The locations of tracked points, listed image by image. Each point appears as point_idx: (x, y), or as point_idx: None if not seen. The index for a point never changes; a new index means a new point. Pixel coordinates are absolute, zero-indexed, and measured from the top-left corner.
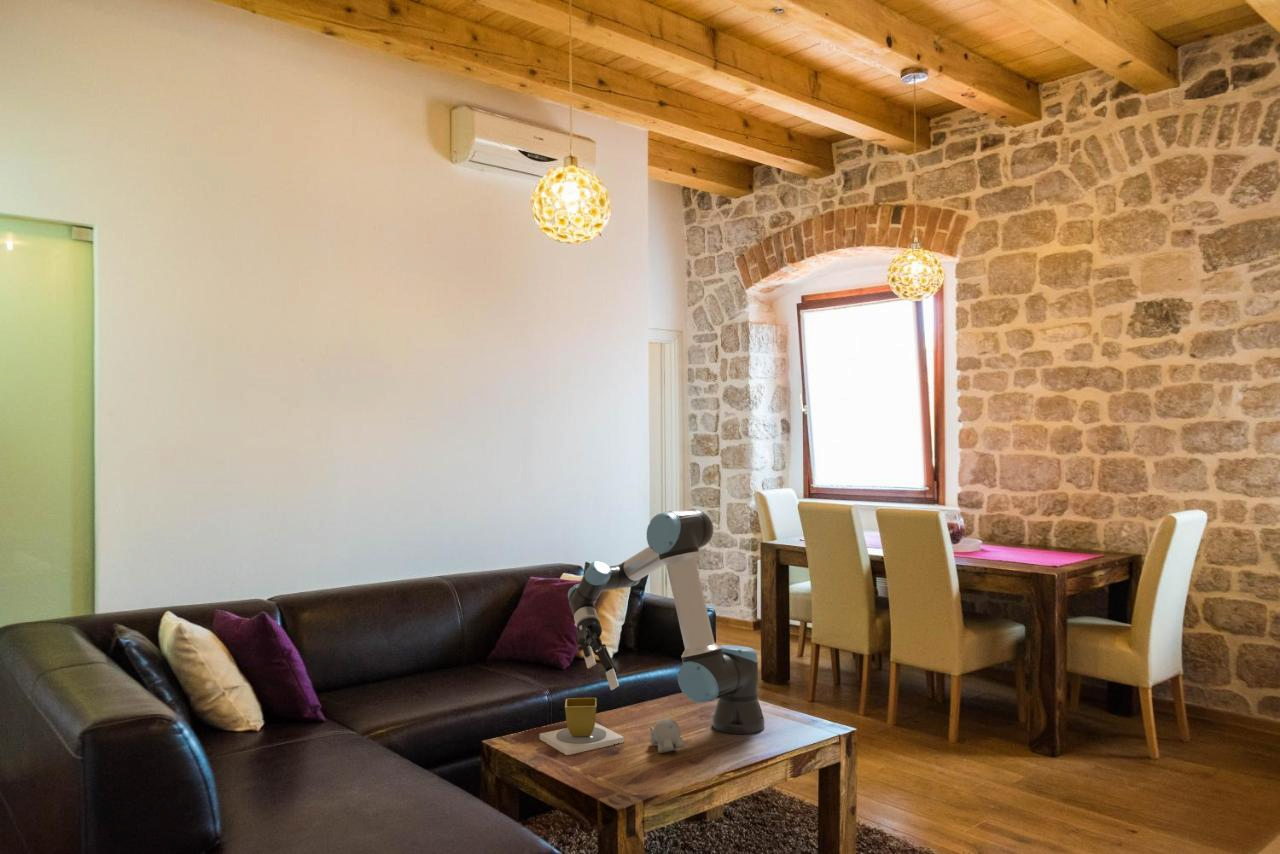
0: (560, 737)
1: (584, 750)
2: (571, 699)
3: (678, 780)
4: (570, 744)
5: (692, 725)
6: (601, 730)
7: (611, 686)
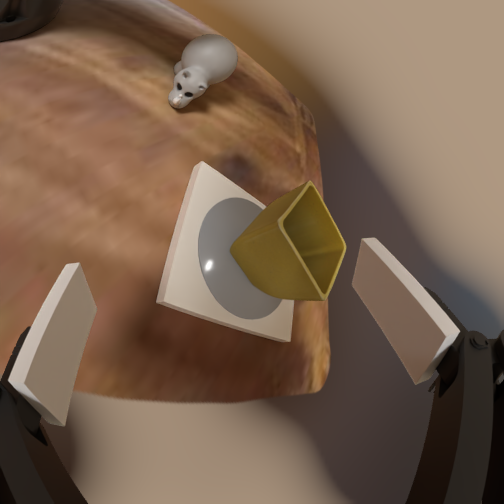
0: None
1: None
2: (317, 286)
3: (250, 65)
4: None
5: (16, 70)
6: (207, 229)
7: (89, 309)
